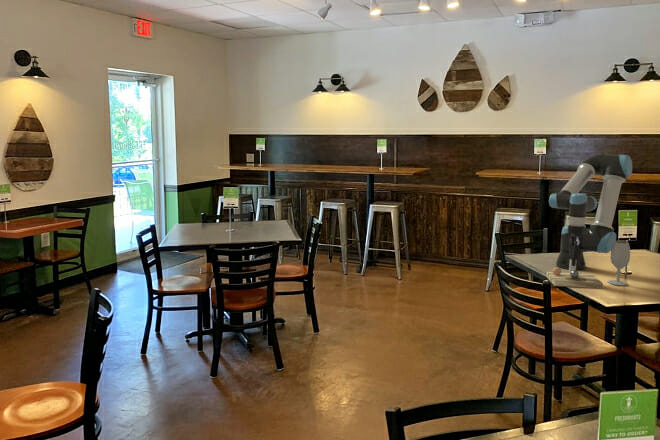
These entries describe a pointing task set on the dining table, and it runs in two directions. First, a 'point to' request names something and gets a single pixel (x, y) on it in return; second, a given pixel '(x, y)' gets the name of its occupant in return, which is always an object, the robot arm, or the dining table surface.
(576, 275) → the steel ball
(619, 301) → the dining table surface
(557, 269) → the terracotta ball
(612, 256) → the wineglass
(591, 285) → the board
